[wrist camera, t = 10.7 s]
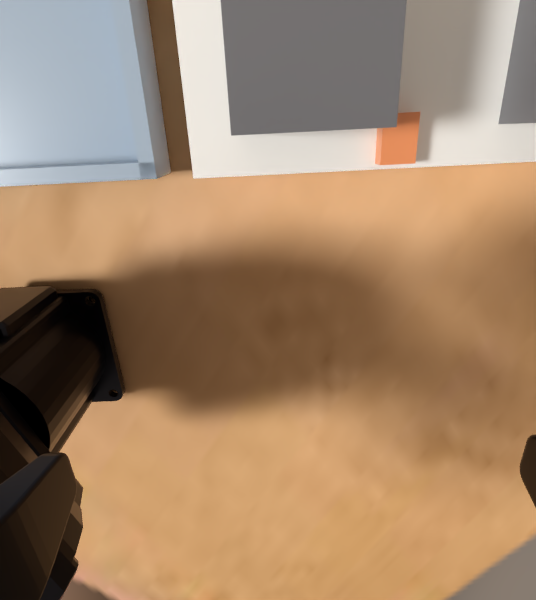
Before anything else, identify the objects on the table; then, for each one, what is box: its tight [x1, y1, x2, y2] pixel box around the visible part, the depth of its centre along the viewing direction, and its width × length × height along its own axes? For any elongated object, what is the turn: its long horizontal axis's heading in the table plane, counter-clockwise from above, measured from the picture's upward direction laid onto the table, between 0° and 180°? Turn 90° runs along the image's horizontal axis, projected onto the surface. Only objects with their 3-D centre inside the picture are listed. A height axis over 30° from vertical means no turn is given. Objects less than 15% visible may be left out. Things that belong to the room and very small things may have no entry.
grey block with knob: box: [221, 0, 407, 136], centre depth 12 cm, size 6×4×6 cm
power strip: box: [172, 0, 536, 179], centre depth 12 cm, size 9×16×6 cm, turn 93°
